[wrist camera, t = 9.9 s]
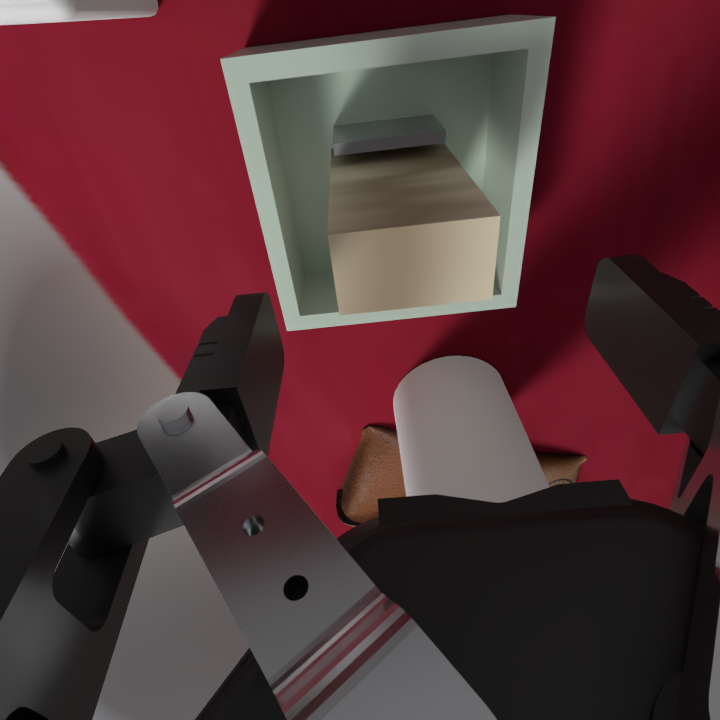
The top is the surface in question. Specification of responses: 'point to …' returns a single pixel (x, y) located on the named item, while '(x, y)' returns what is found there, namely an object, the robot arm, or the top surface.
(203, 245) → the top surface
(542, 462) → the sunglasses case
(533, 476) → the cylindrical container
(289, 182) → the open box
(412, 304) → the beige wooden block
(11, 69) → the top surface
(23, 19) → the medicine bottle
